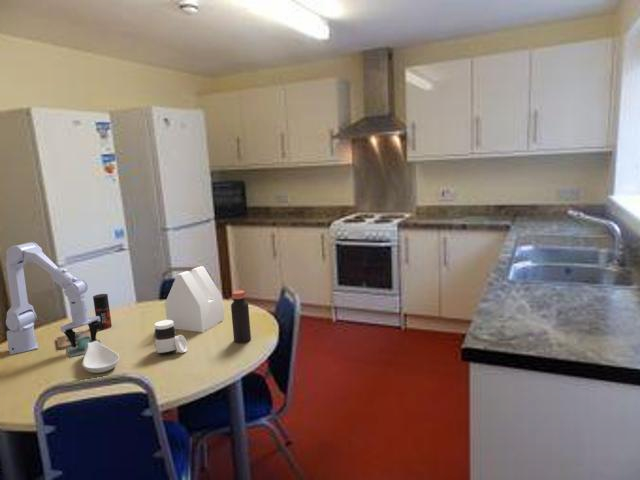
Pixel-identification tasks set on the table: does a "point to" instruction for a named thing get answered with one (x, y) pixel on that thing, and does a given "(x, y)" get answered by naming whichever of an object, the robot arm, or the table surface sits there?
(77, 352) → the mat
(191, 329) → the white peaked block
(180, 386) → the table surface
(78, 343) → the teal ovoid with tab
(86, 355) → the spoon rest
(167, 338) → the spread jar
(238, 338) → the bottle
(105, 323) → the deodorant
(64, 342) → the post board
